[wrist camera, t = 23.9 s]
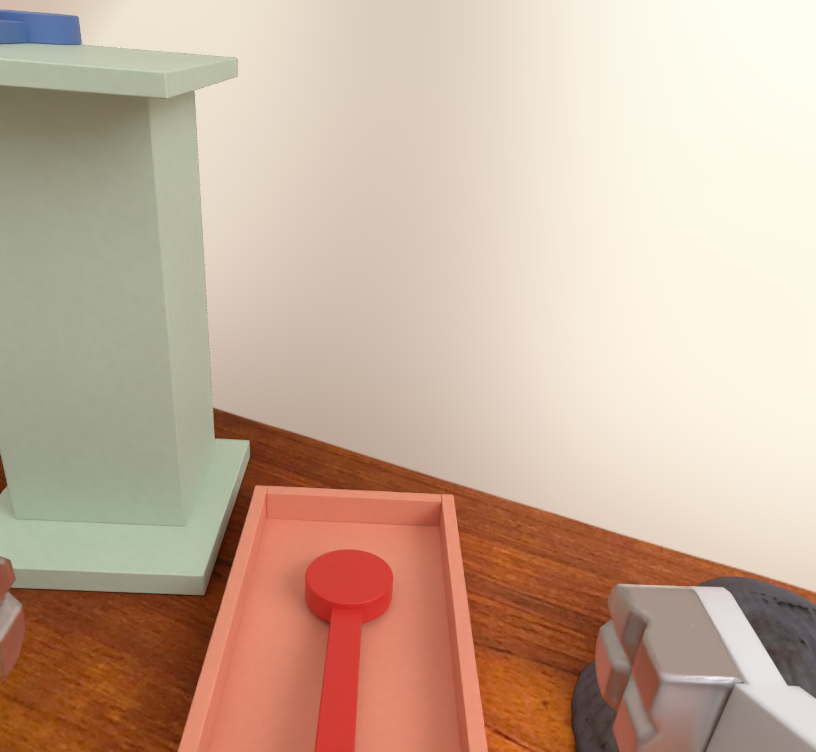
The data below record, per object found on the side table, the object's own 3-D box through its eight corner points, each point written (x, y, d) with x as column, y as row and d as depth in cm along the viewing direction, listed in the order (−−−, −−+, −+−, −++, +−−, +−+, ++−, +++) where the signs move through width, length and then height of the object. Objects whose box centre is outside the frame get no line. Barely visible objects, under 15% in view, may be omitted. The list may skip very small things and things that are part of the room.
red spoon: (393, 907, 23) (396, 879, 23) (249, 904, 23) (249, 875, 22) (391, 571, 40) (393, 550, 40) (309, 567, 40) (310, 546, 40)
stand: (-54, 585, 38) (-216, 40, 26) (56, 447, 50) (-18, 36, 38) (204, 596, 39) (165, 71, 26) (250, 457, 51) (237, 57, 39)
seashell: (581, 630, 42) (590, 520, 38) (951, 703, 36) (999, 582, 33) (553, 868, 29) (564, 735, 26) (1110, 1033, 24) (1211, 890, 21)
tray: (137, 958, 24) (128, 914, 22) (256, 520, 45) (255, 484, 43) (499, 962, 24) (511, 920, 23) (448, 529, 45) (453, 494, 44)
